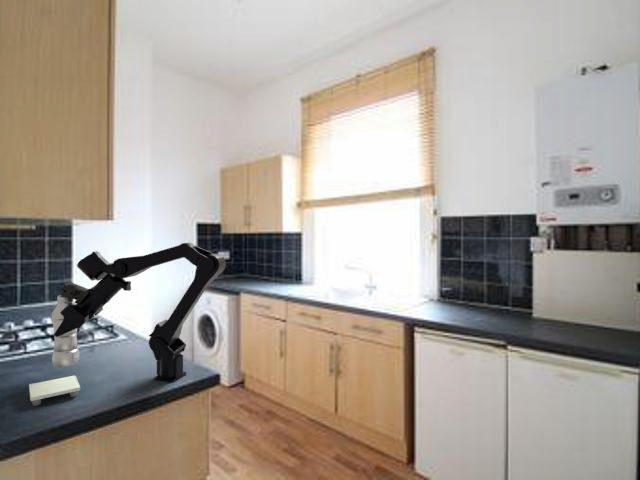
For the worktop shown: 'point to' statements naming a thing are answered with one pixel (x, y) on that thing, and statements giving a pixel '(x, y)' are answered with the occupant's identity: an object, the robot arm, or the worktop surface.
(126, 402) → the worktop surface
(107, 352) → the worktop surface
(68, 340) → the plastic bottle
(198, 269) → the robot arm
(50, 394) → the plate
